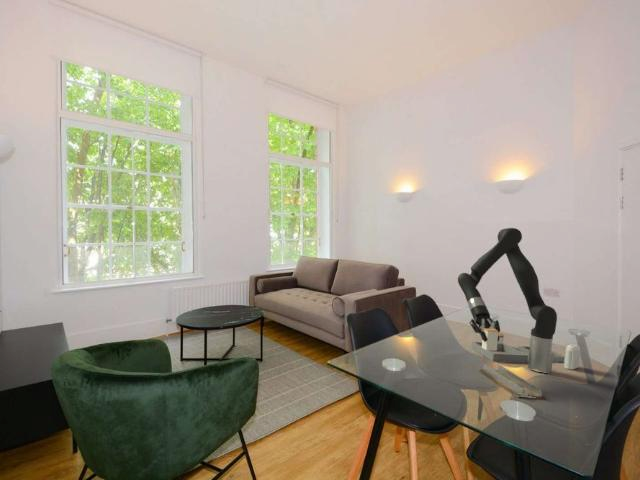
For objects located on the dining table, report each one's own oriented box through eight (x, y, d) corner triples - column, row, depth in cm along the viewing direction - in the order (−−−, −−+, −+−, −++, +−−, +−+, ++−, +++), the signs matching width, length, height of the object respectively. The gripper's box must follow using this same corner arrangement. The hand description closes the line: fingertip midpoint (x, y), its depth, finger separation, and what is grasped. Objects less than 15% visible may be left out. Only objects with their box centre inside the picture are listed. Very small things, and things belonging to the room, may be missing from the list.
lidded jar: (485, 346, 201) (486, 331, 201) (482, 341, 212) (483, 327, 211) (504, 349, 198) (506, 334, 198) (500, 344, 208) (501, 329, 208)
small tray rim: (542, 352, 200) (543, 347, 200) (565, 362, 184) (565, 356, 184) (518, 350, 198) (519, 345, 198) (538, 360, 182) (539, 355, 182)
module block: (491, 347, 152) (493, 328, 152) (496, 350, 149) (498, 330, 149) (481, 347, 152) (483, 328, 152) (486, 350, 148) (487, 330, 148)
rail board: (502, 372, 159) (503, 365, 159) (544, 398, 134) (545, 390, 134) (479, 371, 158) (480, 364, 158) (517, 397, 132) (518, 389, 132)
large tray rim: (503, 350, 197) (503, 343, 197) (527, 362, 177) (528, 355, 177) (471, 348, 195) (472, 341, 195) (492, 361, 175) (493, 353, 175)
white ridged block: (570, 364, 180) (572, 342, 180) (579, 367, 177) (581, 344, 176) (562, 367, 174) (564, 344, 174) (571, 370, 171) (574, 347, 171)
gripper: (467, 303, 158) (480, 336, 146) (495, 305, 159) (511, 337, 147) (461, 312, 163) (473, 344, 151) (488, 313, 164) (502, 345, 152)
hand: (491, 340), depth 149 cm, fingers closed on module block, 5 cm apart
